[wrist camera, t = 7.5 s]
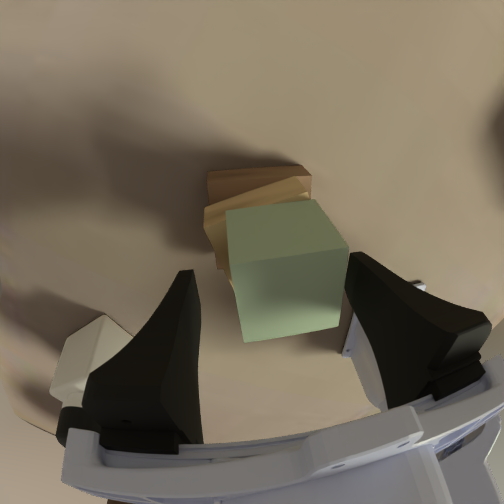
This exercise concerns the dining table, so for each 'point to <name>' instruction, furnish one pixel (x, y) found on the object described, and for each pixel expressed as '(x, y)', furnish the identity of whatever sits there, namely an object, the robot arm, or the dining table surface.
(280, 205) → the green cube
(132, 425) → the robot arm
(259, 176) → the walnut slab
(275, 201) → the oak slab
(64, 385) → the medicine bottle
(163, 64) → the dining table surface
